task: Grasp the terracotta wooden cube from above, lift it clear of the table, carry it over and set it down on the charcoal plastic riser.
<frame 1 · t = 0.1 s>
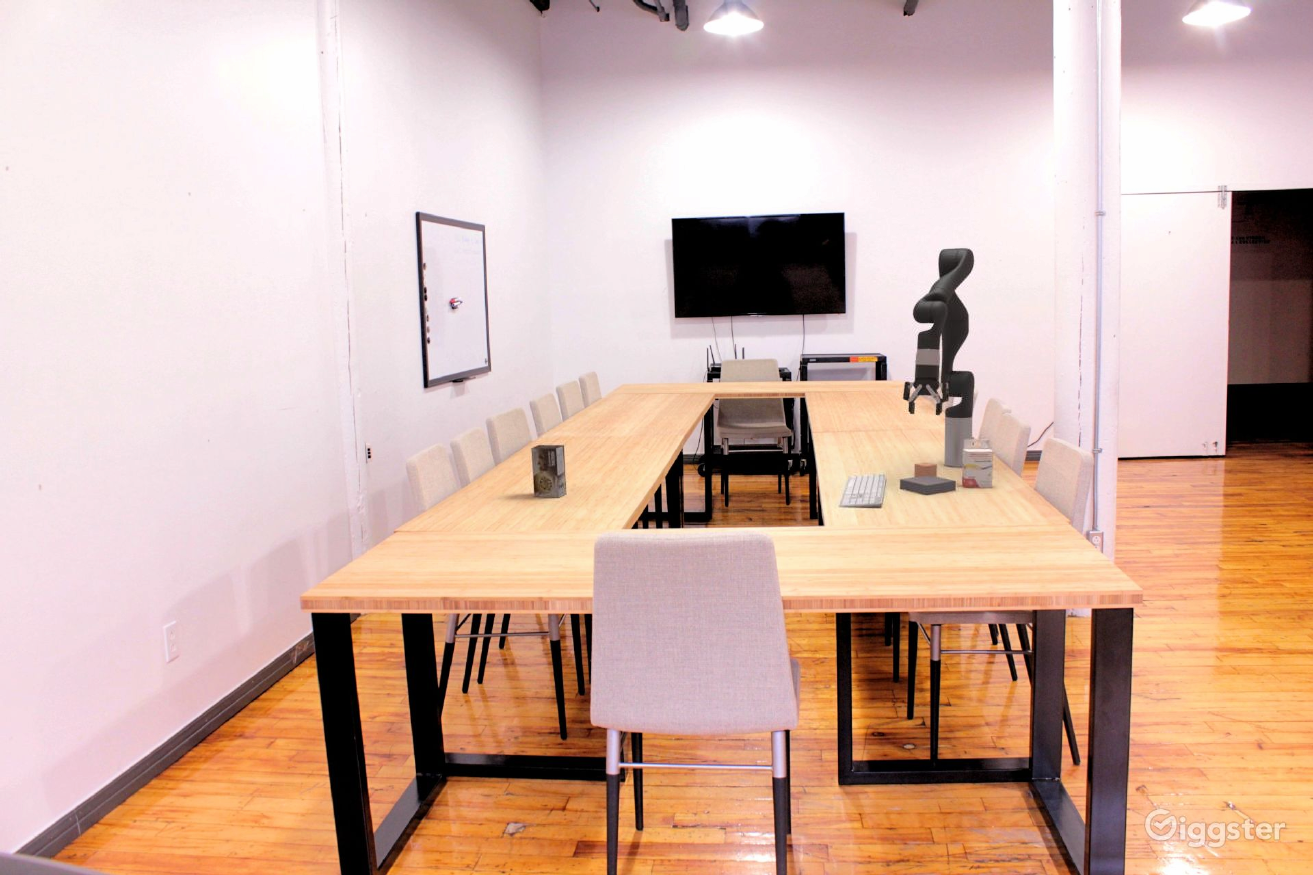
hand: (924, 414, 325), 22 cm above the table, tool pointing down, fingers open, 8 cm apart
keyboard: (863, 494, 318), on the table
coffee box: (550, 496, 327), on the table
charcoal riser: (927, 489, 319), on the table
ink cartridge box: (977, 486, 321), on the table
terracotta cube: (925, 479, 335), on the table
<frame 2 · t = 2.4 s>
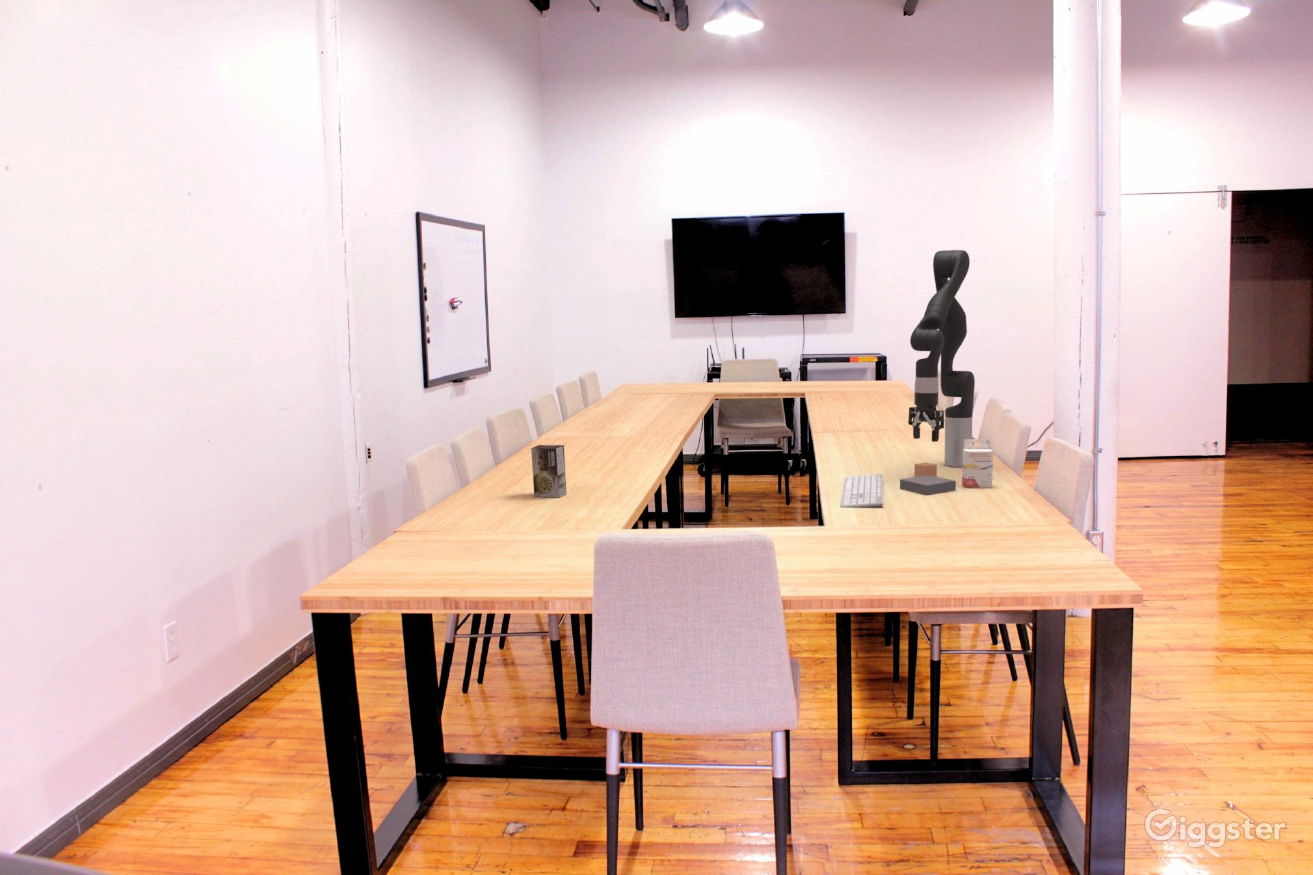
hand: (925, 440, 333), 13 cm above the table, tool pointing down, fingers open, 8 cm apart
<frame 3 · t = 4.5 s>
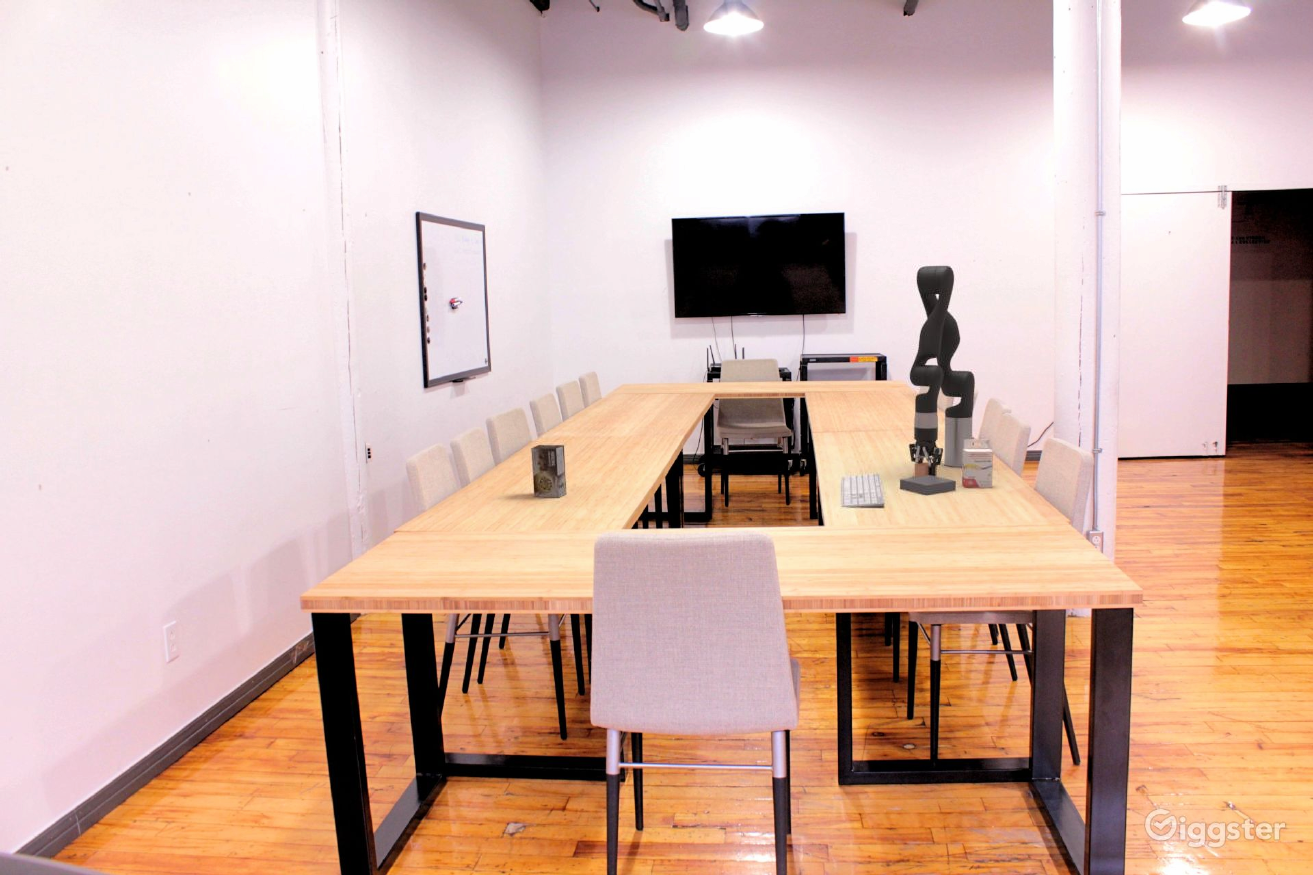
hand: (925, 476, 335), 1 cm above the table, tool pointing down, fingers closed on terracotta cube, 5 cm apart
terracotta cube: (925, 479, 335), on the table, touching gripper
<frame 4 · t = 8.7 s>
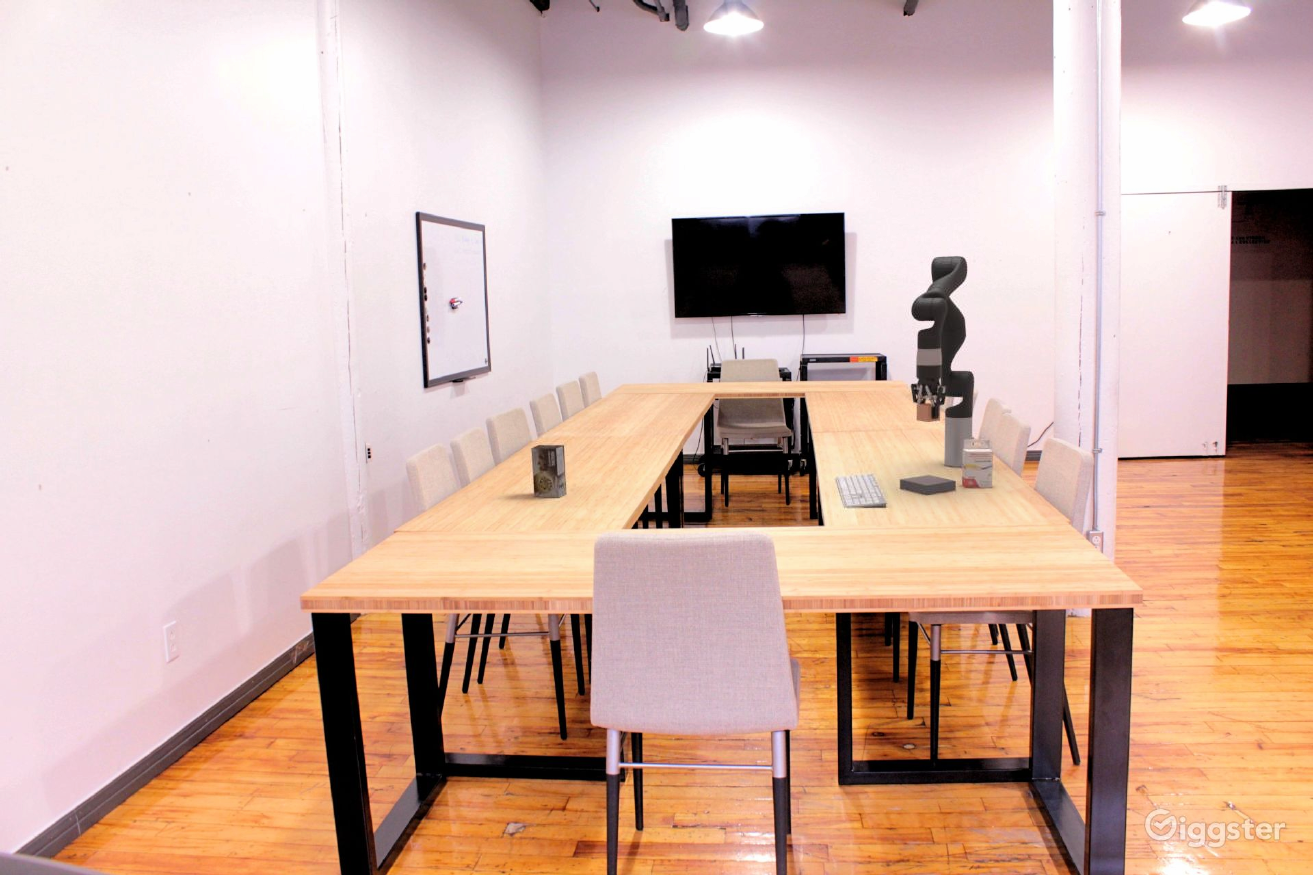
hand: (928, 417, 315), 23 cm above the table, tool pointing down, fingers closed on terracotta cube, 5 cm apart
terracotta cube: (928, 420, 315), point 22 cm above the table, touching gripper
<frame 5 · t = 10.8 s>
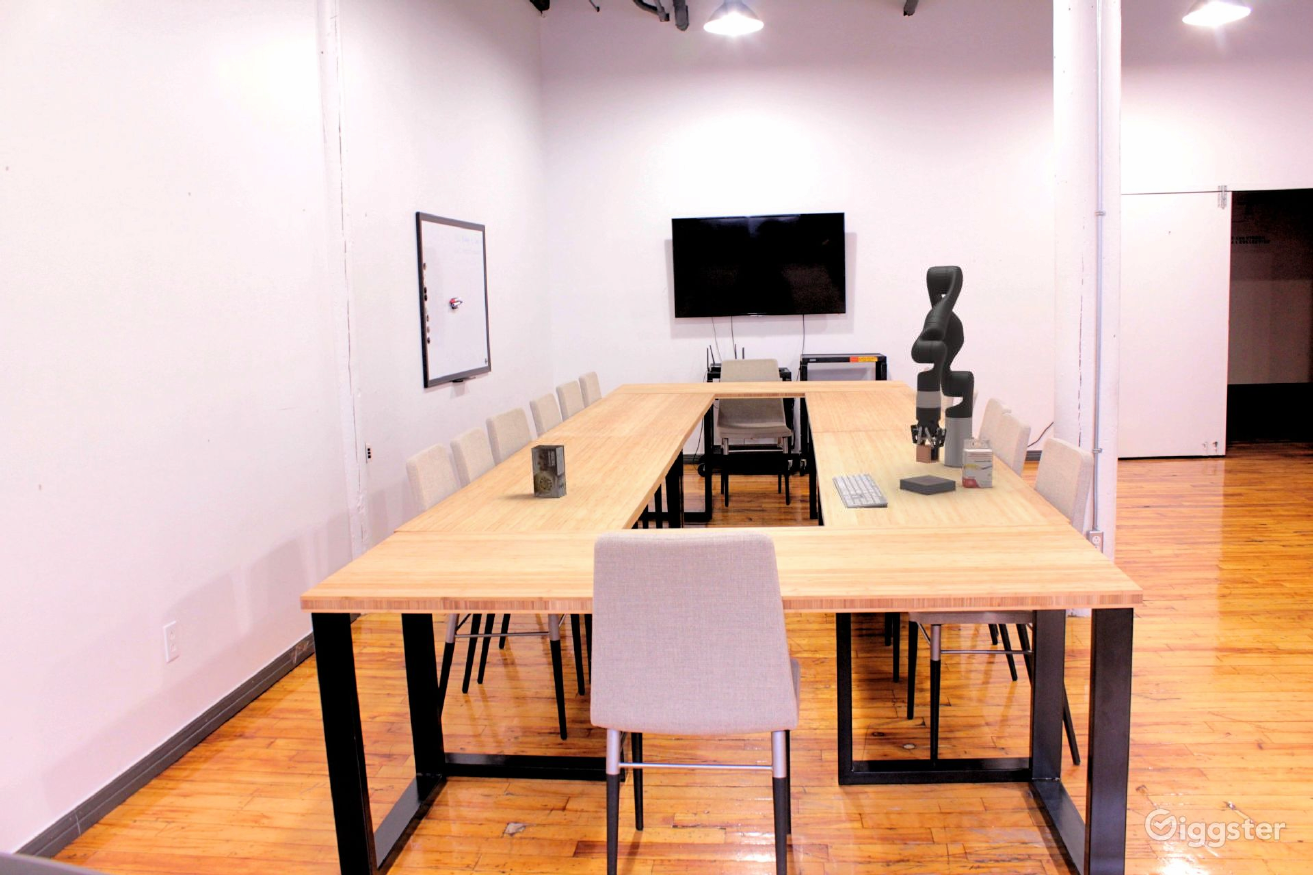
hand: (927, 458, 317), 10 cm above the table, tool pointing down, fingers closed on terracotta cube, 5 cm apart
terracotta cube: (927, 461, 317), point 9 cm above the table, touching gripper
when the fingers open (5 cm above the table, at t = 12.8 s): terracotta cube stays where it is, resting on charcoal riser.
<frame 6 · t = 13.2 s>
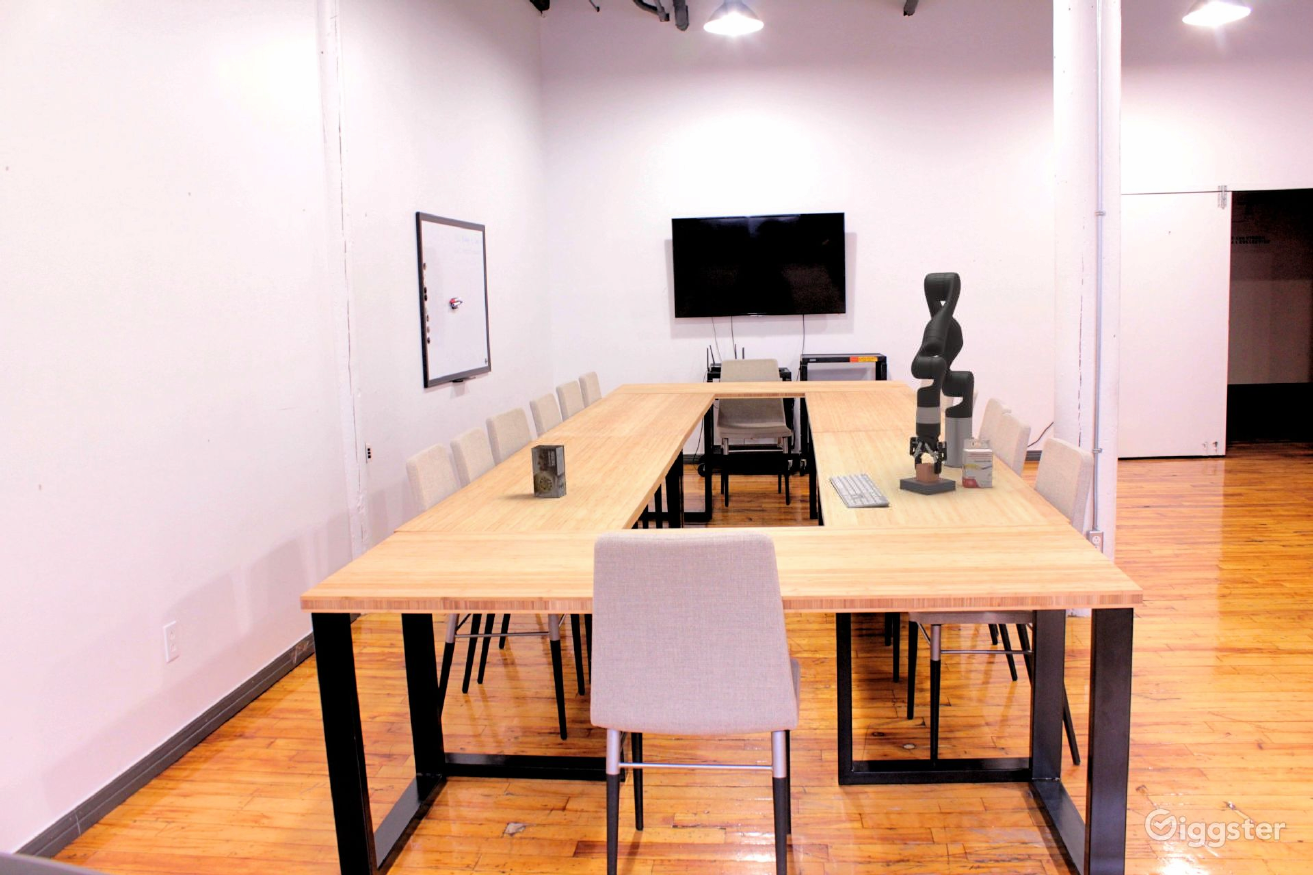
hand: (927, 471, 318), 6 cm above the table, tool pointing down, fingers open, 8 cm apart
terracotta cube: (927, 480, 318), point 3 cm above the table, touching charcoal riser
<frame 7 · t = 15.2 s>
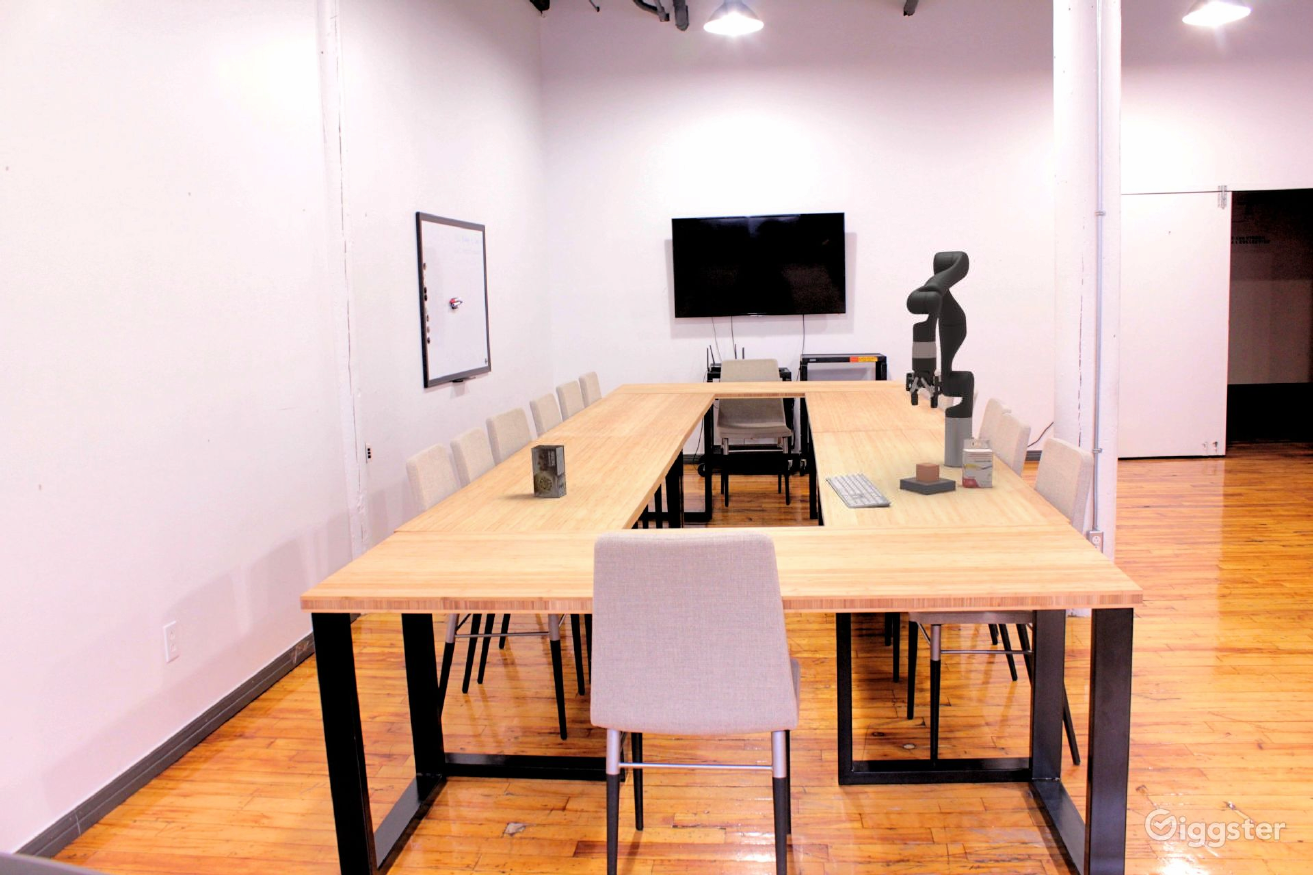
hand: (924, 406, 321), 25 cm above the table, tool pointing down, fingers open, 8 cm apart
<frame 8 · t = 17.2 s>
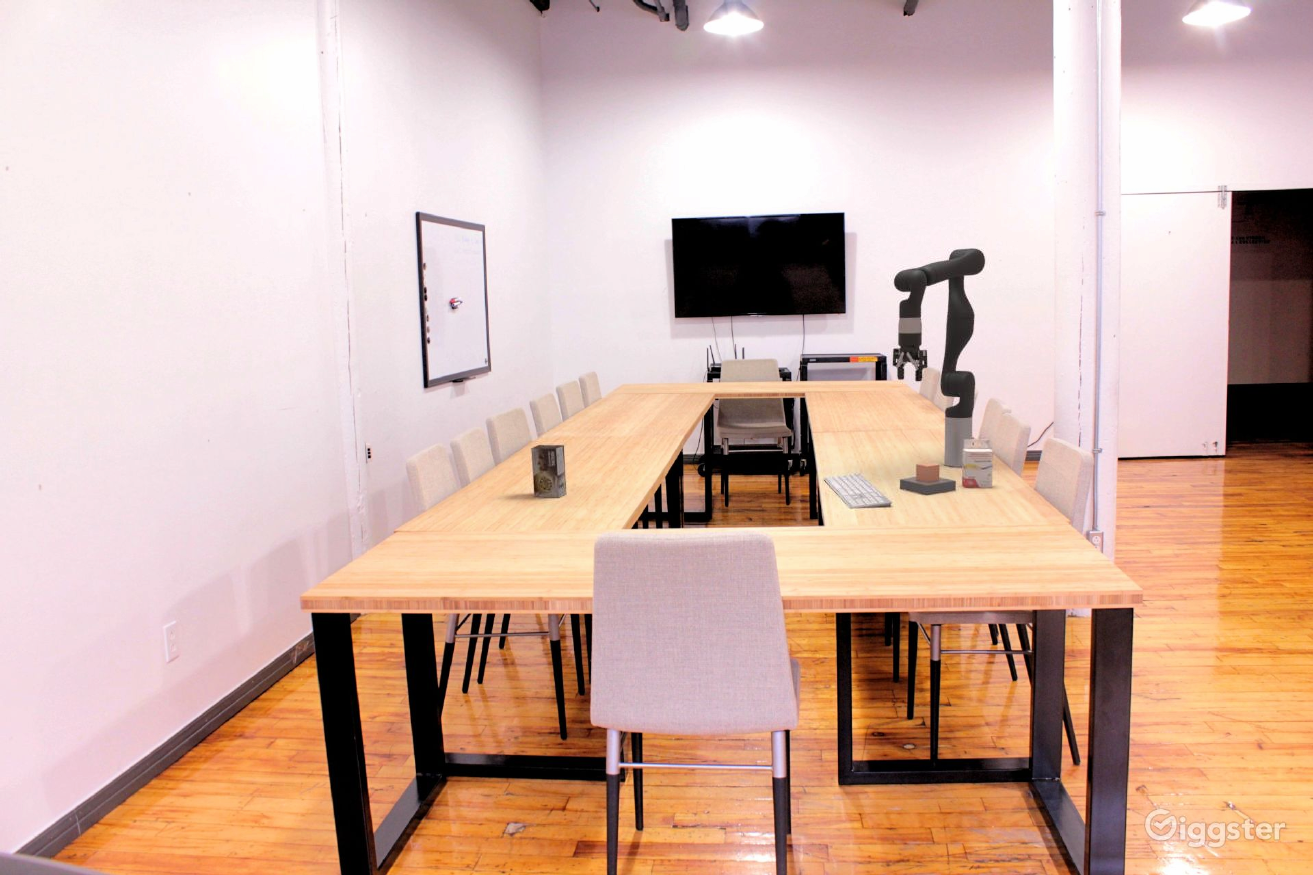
hand: (909, 380, 337), 32 cm above the table, tool pointing down, fingers open, 8 cm apart
at the end: terracotta cube inside the target area on the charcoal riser (0.0 cm from its centre), point 3.0 cm above the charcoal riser's base; terracotta cube tilted 0°; the gripper is holding nothing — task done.
